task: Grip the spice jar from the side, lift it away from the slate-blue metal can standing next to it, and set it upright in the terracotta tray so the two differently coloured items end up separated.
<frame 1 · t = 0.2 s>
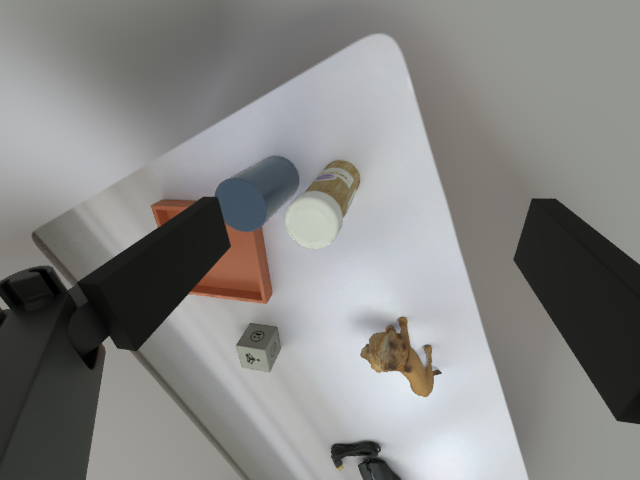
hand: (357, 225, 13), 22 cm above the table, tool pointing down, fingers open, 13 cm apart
spice jar: (341, 178, 34), on the table
blue can: (278, 178, 36), on the table
dice cube: (266, 335, 51), on the table
lion figurine: (404, 337, 43), on the table
tray: (219, 248, 44), on the table
computer mouse: (366, 464, 62), on the table
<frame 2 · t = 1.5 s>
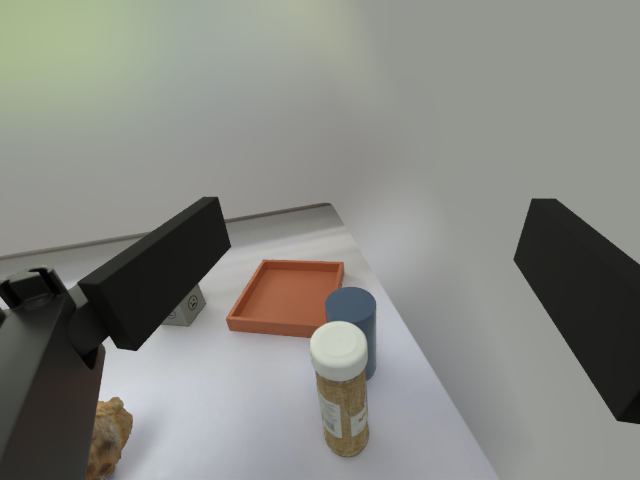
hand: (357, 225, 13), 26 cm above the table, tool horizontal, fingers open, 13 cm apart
spice jar: (346, 433, 29), on the table
blue can: (353, 363, 36), on the table
dice cube: (184, 314, 47), on the table
tray: (292, 298, 48), on the table
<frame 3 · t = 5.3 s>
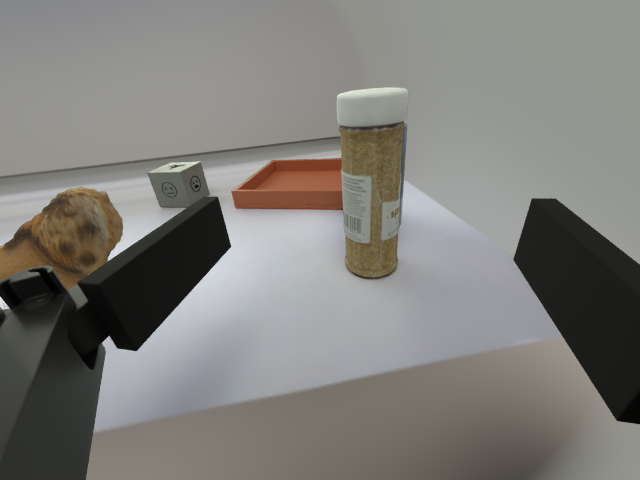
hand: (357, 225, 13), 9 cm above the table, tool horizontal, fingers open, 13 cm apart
spice jar: (370, 265, 25), on the table
blue can: (375, 222, 32), on the table
dice cube: (186, 201, 43), on the table
lion figurine: (56, 314, 23), on the table
tray: (304, 188, 43), on the table
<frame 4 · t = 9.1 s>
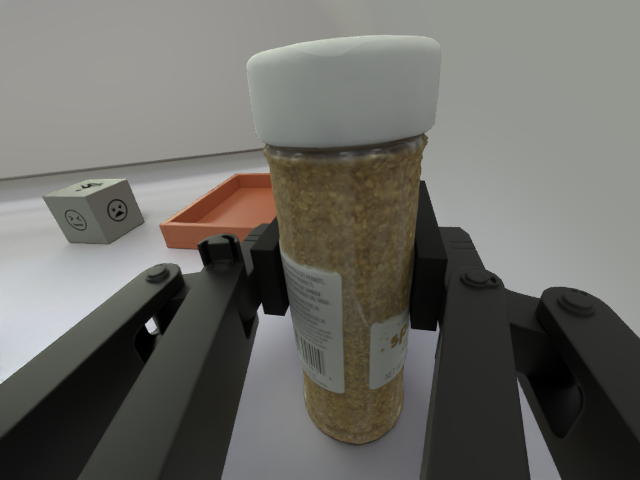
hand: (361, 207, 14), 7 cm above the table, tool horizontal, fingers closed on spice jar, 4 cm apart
spice jar: (352, 395, 13), on the table, touching gripper
dice cube: (109, 233, 31), on the table
tray: (271, 214, 32), on the table
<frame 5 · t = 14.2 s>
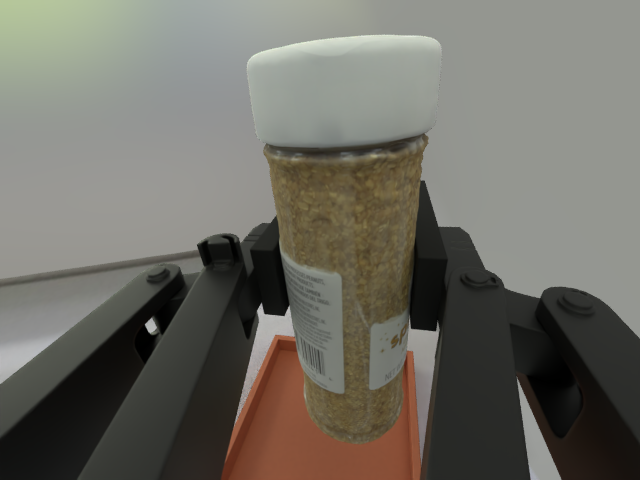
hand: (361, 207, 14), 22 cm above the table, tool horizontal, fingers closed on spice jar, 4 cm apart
spice jar: (351, 395, 13), point 15 cm above the table, touching gripper
tray: (328, 426, 26), on the table
when the fingers open (8 cm above the table, at t = 19.4 s): spice jar stays where it is, resting on tray.
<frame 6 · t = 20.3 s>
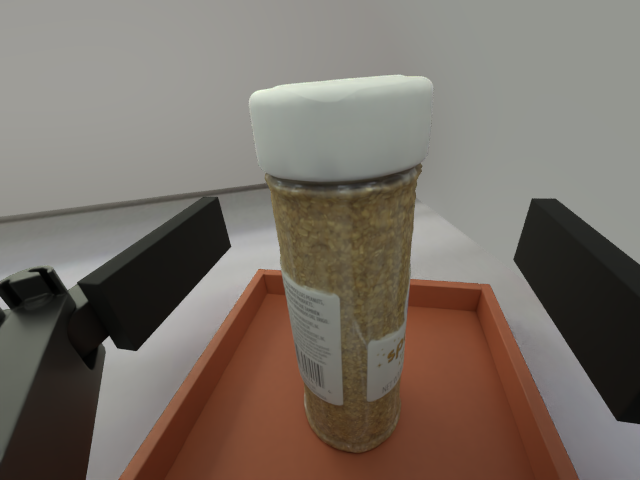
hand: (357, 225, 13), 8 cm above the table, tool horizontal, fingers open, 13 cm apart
spice jar: (350, 404, 14), resting on tray
tray: (352, 409, 14), on the table
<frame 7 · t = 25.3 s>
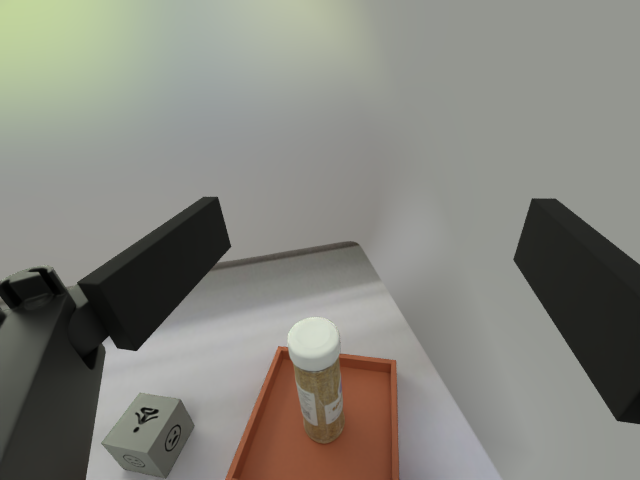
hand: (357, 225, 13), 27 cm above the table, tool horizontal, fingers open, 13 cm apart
spice jar: (324, 422, 31), resting on tray
dice cube: (161, 447, 31), on the table
tray: (324, 424, 32), on the table
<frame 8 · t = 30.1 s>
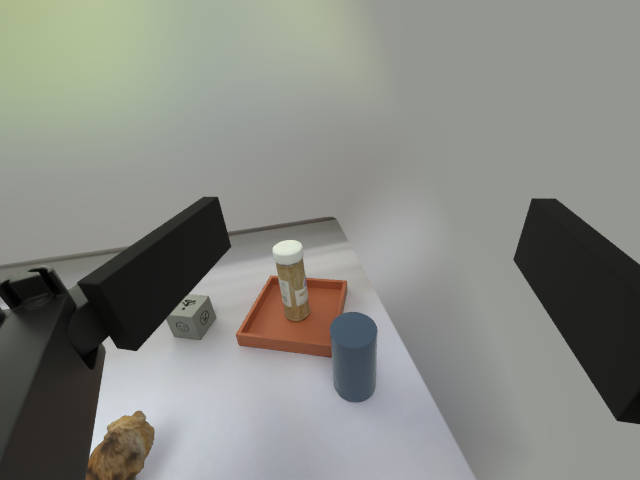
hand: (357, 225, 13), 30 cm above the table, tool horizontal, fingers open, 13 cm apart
spice jar: (297, 313, 50), resting on tray
blue can: (354, 382, 39), on the table
dice cube: (196, 327, 50), on the table
tray: (298, 315, 50), on the table
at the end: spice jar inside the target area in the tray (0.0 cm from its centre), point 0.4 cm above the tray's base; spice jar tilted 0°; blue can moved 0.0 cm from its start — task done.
